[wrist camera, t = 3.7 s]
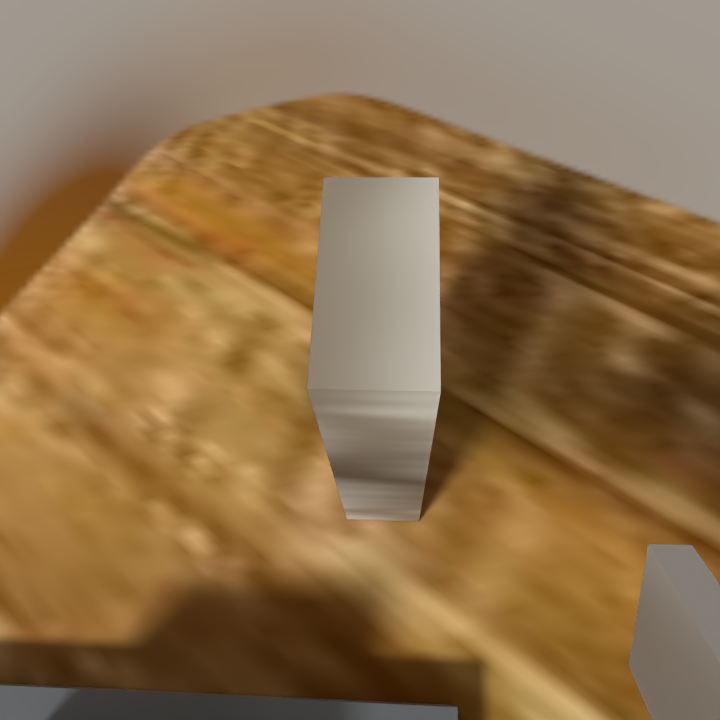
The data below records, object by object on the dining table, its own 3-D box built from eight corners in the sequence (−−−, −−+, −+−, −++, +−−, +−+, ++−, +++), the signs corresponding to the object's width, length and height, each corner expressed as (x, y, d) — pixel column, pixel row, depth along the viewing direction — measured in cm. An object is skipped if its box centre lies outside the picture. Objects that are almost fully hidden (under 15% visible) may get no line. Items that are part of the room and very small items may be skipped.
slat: (419, 388, 25) (438, 177, 15) (418, 521, 23) (440, 391, 12) (353, 387, 26) (323, 177, 15) (347, 519, 23) (306, 389, 13)
